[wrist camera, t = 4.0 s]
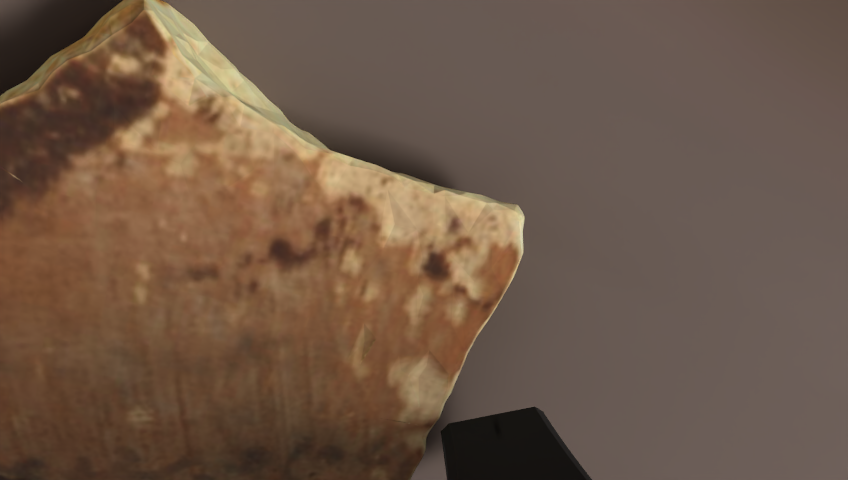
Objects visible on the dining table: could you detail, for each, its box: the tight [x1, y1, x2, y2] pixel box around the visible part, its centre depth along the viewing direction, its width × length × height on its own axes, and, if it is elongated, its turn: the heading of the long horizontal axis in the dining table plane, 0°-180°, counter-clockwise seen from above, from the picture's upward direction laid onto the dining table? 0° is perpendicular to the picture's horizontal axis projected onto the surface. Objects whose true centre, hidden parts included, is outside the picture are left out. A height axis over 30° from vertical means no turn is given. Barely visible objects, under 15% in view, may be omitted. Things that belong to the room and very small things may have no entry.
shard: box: [0, 0, 525, 480], centre depth 8 cm, size 11×8×2 cm
